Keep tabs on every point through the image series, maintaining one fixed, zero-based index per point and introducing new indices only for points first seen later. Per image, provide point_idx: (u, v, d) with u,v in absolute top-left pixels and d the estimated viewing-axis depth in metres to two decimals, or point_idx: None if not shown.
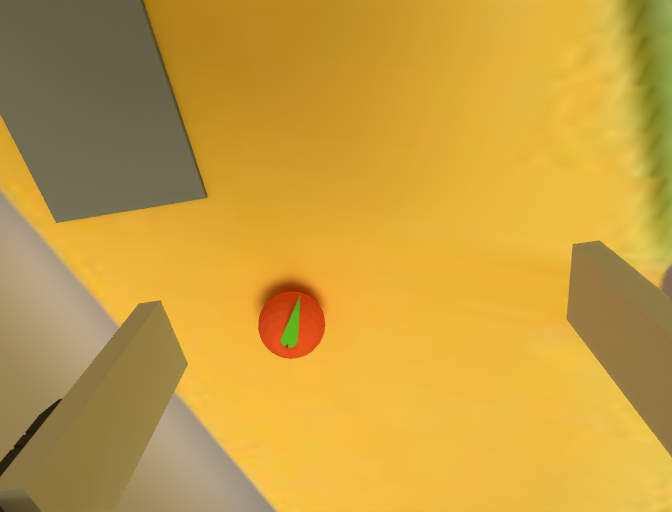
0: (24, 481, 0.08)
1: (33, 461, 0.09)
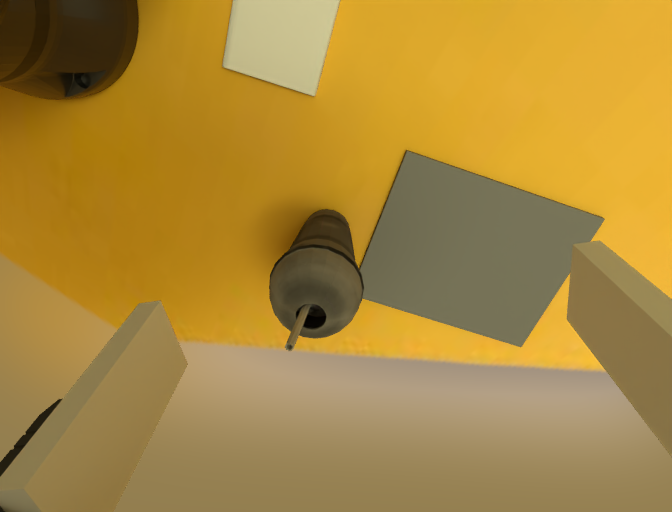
0: (24, 481, 0.08)
1: (33, 461, 0.09)
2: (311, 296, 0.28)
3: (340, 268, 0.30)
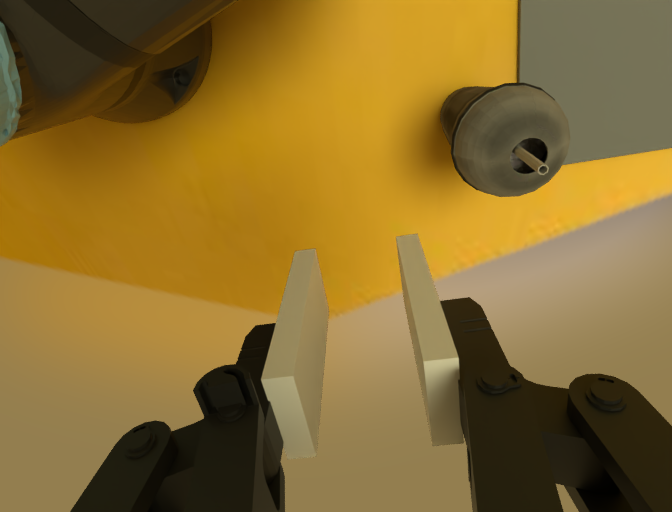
0: (288, 372, 0.10)
1: (286, 359, 0.10)
2: (520, 131, 0.24)
3: (534, 93, 0.25)
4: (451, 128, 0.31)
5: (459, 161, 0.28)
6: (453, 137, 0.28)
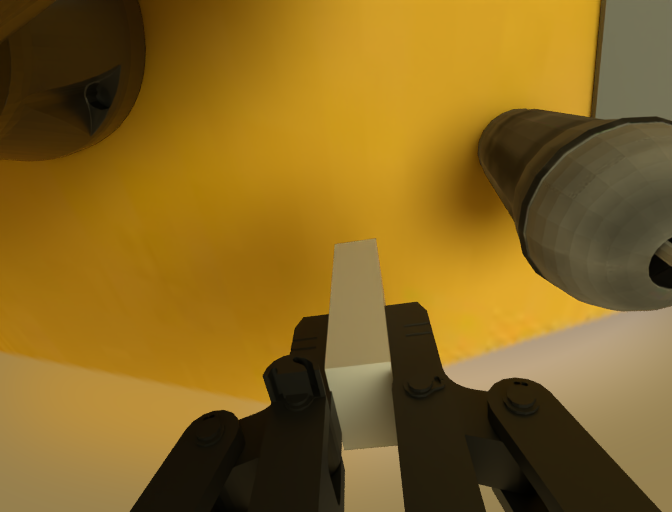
0: (351, 361, 0.10)
1: (347, 348, 0.10)
2: None
3: None
4: (510, 181, 0.19)
5: (535, 248, 0.16)
6: (524, 207, 0.16)
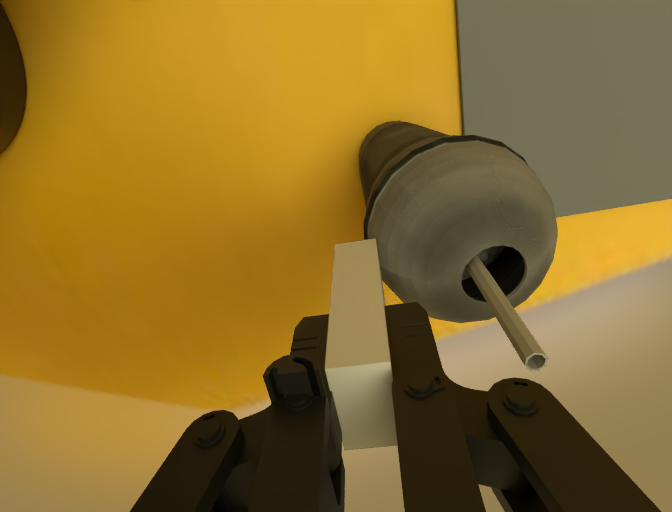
0: (351, 361, 0.10)
1: (347, 348, 0.10)
2: (477, 235, 0.13)
3: (493, 158, 0.14)
4: (367, 198, 0.20)
5: None
6: (365, 227, 0.17)
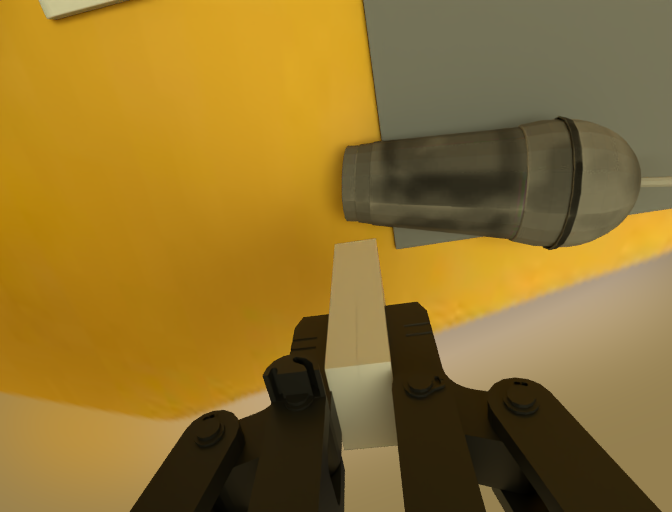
0: (351, 361, 0.10)
1: (347, 349, 0.10)
2: None
3: None
4: (499, 192, 0.21)
5: (588, 220, 0.21)
6: (577, 195, 0.20)
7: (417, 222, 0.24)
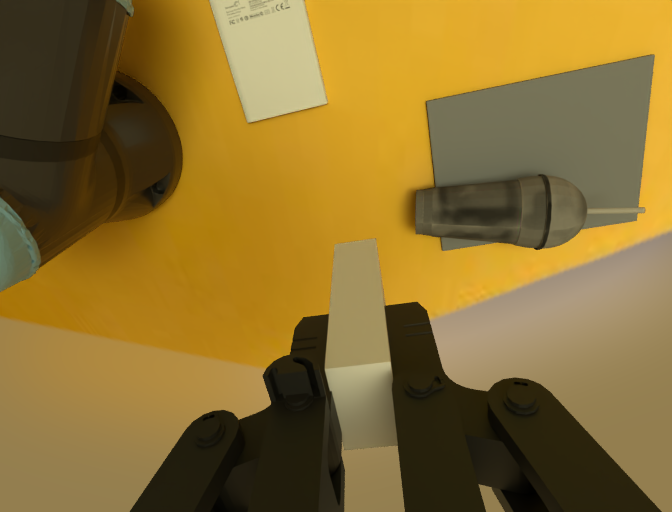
0: (351, 361, 0.10)
1: (347, 348, 0.10)
2: (584, 199, 0.39)
3: None
4: (506, 218, 0.39)
5: (556, 233, 0.38)
6: (549, 219, 0.38)
7: (459, 234, 0.41)
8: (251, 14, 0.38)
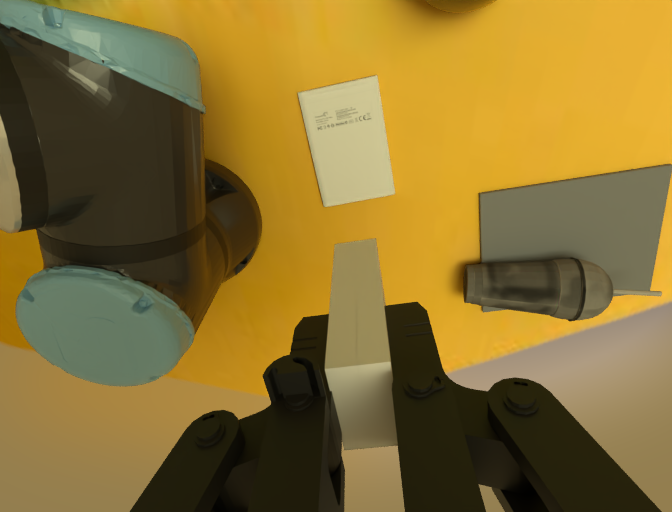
0: (351, 361, 0.10)
1: (347, 348, 0.10)
2: (611, 282, 0.46)
3: (590, 262, 0.47)
4: (547, 297, 0.46)
5: (588, 311, 0.46)
6: (583, 301, 0.45)
7: (504, 306, 0.48)
8: (337, 122, 0.44)
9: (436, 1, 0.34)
